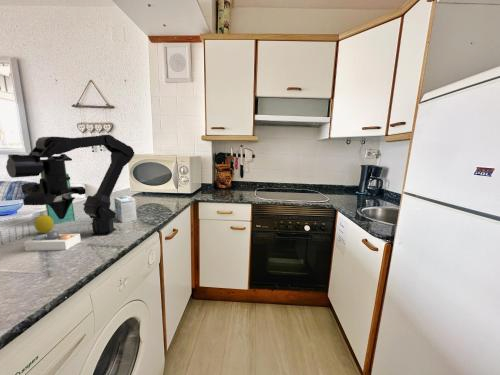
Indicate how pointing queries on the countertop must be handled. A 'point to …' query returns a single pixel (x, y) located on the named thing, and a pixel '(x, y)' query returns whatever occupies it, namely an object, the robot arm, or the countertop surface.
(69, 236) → the terracotta button
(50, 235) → the charcoal button
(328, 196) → the countertop surface
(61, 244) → the frame
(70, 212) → the milk carton
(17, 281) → the countertop surface
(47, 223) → the lemon
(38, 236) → the slate button
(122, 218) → the light bulb box
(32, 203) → the robot arm
